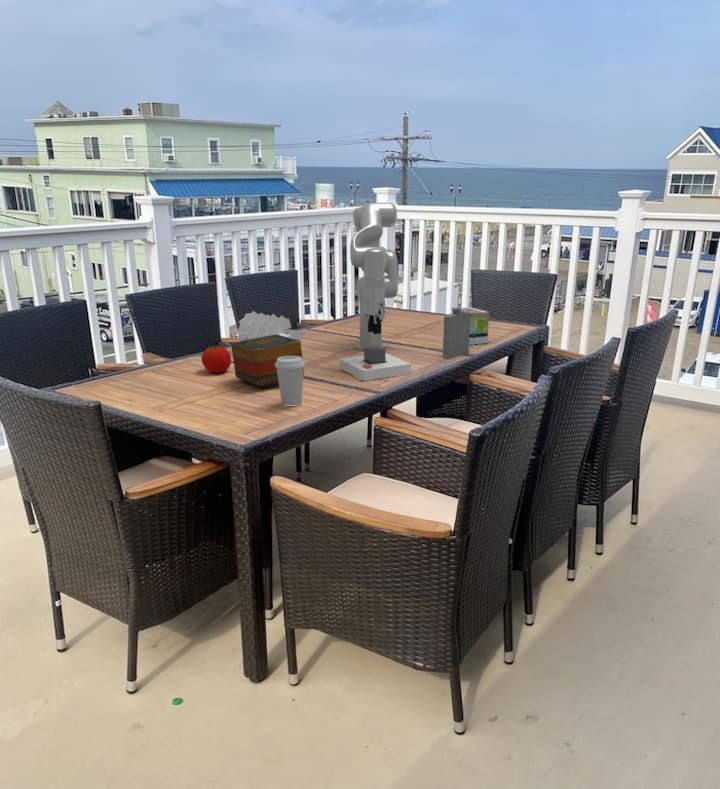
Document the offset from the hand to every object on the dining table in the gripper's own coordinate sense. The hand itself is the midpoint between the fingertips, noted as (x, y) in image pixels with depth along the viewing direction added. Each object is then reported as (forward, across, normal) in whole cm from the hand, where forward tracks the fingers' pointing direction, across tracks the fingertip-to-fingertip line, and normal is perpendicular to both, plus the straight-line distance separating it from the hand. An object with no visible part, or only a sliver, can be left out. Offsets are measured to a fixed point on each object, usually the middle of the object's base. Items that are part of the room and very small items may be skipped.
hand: (374, 332), depth 228 cm
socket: (+15, 0, 0) cm, 15 cm away
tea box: (+16, -24, +63) cm, 69 cm away
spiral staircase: (+16, -46, -26) cm, 55 cm away
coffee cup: (+15, +21, -42) cm, 49 cm away
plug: (+14, 0, 0) cm, 14 cm away
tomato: (+16, -30, -53) cm, 63 cm away
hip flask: (+16, -6, +42) cm, 45 cm away
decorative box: (+16, -7, -40) cm, 43 cm away
